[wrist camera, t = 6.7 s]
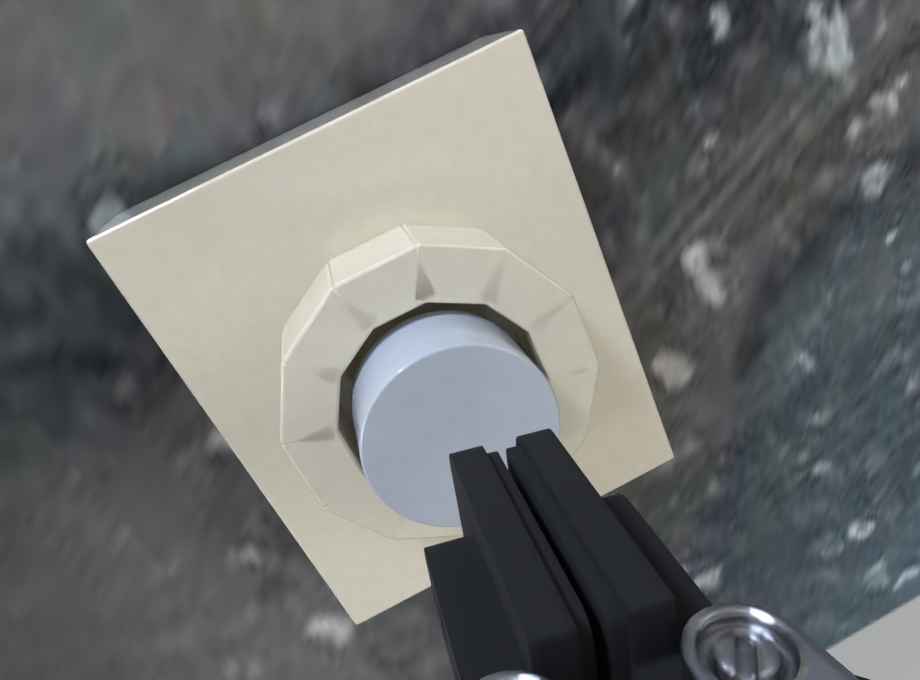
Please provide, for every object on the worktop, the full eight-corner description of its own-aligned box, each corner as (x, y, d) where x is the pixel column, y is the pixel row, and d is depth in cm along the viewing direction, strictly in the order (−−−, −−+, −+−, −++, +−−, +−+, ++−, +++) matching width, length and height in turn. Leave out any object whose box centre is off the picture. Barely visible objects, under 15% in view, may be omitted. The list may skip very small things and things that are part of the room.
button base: (116, 214, 16) (52, 267, 12) (485, 35, 17) (558, 20, 12) (347, 557, 21) (364, 686, 17) (627, 410, 22) (716, 498, 17)
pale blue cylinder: (316, 363, 14) (321, 407, 12) (488, 277, 14) (518, 307, 12) (400, 503, 16) (415, 560, 14) (552, 423, 16) (588, 469, 14)
